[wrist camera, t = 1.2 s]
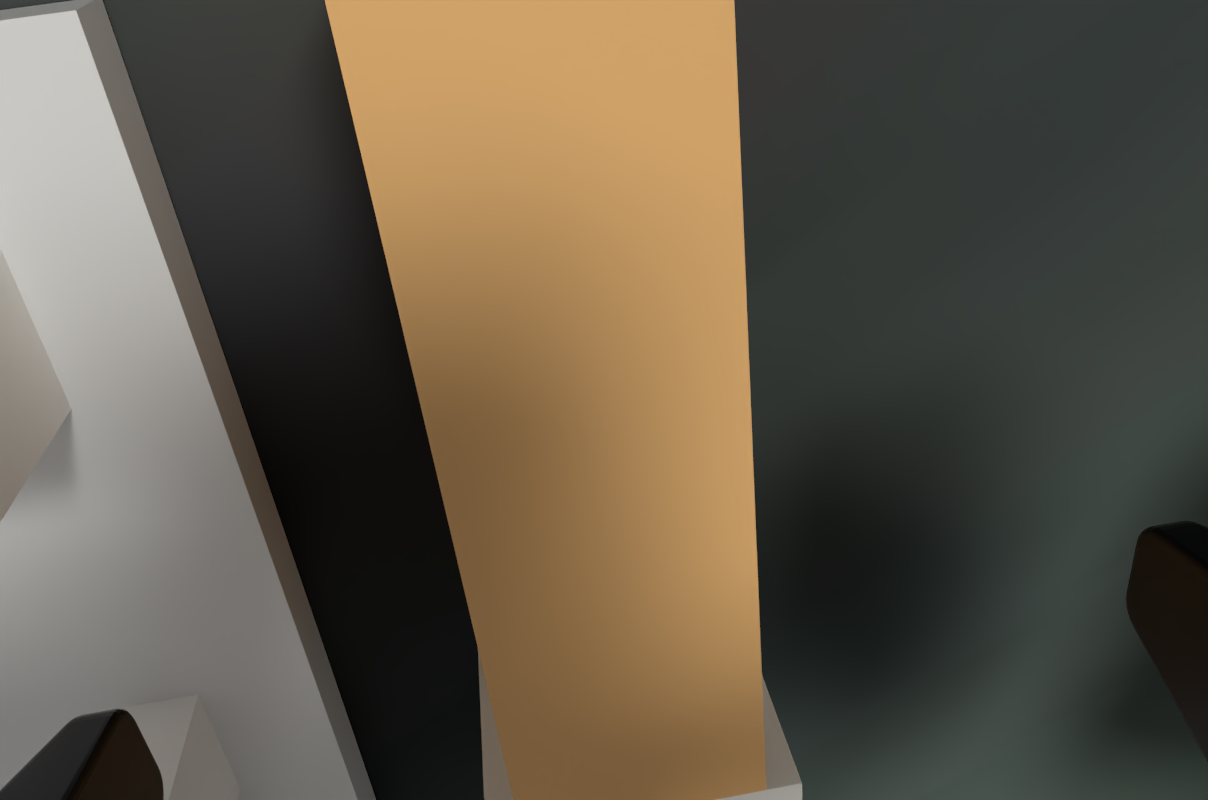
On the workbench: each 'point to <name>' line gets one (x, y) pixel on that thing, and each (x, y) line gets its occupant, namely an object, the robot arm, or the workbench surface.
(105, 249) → the board
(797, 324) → the workbench surface
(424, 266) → the two-tone rectangular block
